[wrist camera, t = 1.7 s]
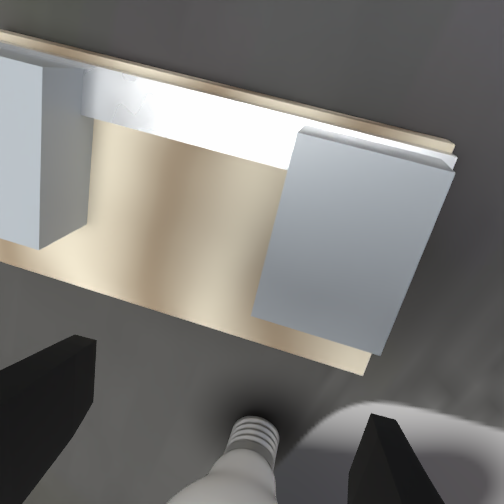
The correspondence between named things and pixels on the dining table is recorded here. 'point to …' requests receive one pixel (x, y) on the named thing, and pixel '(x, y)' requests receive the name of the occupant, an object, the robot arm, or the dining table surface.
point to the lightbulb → (239, 468)
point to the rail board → (213, 199)
